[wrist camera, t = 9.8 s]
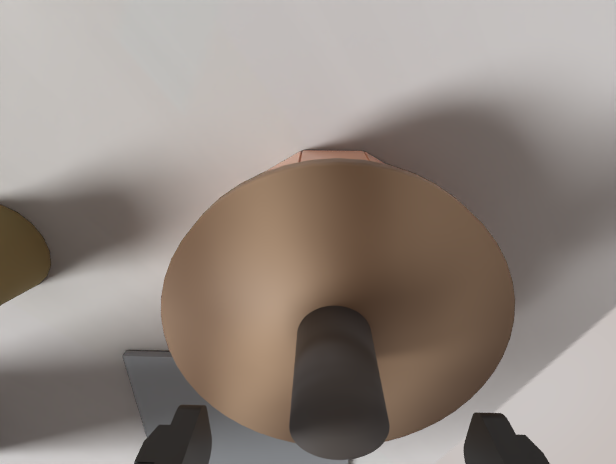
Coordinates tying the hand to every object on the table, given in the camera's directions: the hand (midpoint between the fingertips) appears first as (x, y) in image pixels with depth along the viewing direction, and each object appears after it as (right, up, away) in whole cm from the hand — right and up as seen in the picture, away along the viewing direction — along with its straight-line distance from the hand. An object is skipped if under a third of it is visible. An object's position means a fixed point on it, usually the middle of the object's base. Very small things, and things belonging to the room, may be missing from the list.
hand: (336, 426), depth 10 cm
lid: (0, +2, +4) cm, 5 cm away
